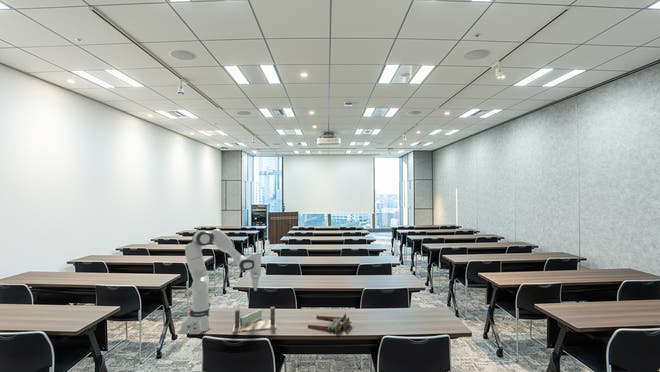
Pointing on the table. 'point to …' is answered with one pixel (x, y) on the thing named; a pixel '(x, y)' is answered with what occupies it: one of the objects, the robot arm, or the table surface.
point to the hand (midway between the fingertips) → (255, 290)
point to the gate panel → (250, 317)
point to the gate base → (254, 323)
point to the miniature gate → (333, 323)
